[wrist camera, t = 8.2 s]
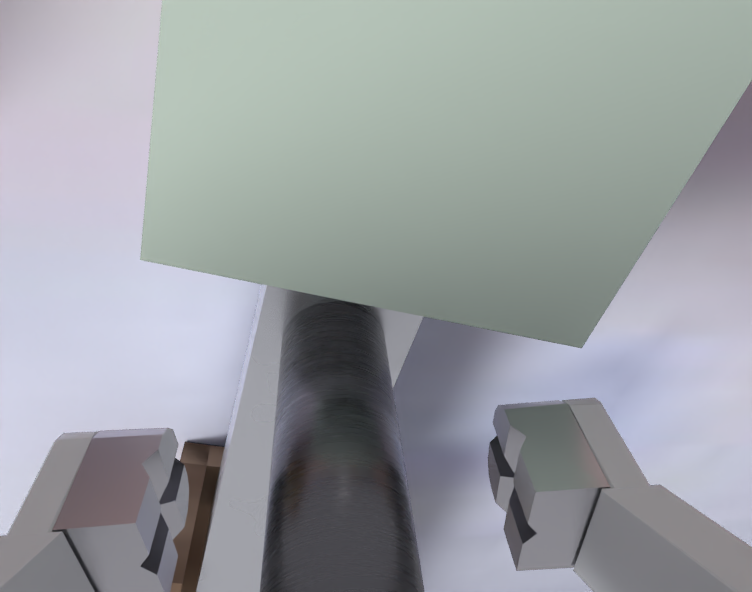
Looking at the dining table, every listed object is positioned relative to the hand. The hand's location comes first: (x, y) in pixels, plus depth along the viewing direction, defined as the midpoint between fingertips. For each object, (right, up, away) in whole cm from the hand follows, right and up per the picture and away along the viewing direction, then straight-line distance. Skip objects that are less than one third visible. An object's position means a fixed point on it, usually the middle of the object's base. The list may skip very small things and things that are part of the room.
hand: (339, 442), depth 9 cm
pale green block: (+1, +7, +3) cm, 8 cm away
